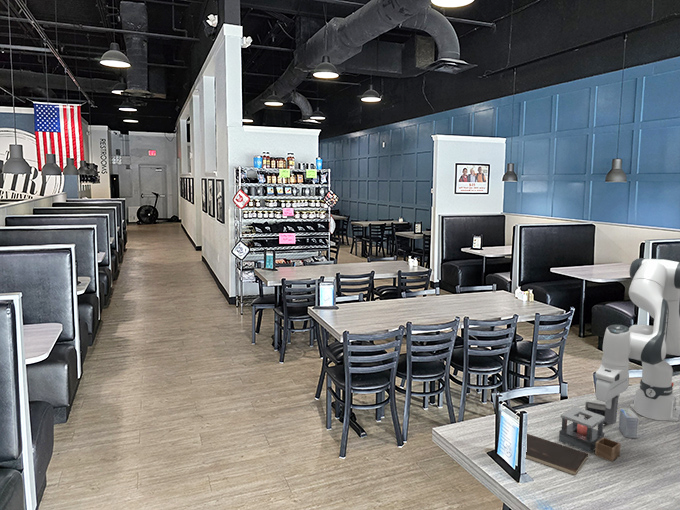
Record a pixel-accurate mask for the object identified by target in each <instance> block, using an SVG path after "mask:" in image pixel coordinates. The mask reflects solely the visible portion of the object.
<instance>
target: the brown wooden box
mask: <svg viewBox="0 0 680 510" xmlns="http://www.w3.org/2000/svg"><path fill="white" fill-rule="evenodd" d="M594 450H595V451H594V456H597V457H600V458H602V459H604V460H607V461H609V462H612V463H613V462H614V461H615V460H617V459H618V458H619V457H620V455H621V443H620V442H618V441H615V440H612V439H610V438H606V437H605V436H604V437H603V438H601V439H600V440H599V441H597V442H596V448H595V449H594Z"/></svg>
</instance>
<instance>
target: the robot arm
mask: <svg viewBox="0 0 680 510" xmlns="http://www.w3.org/2000/svg"><path fill="white" fill-rule="evenodd" d="M629 278H630V279H631V283H630V285H629V288H628V296H629V299H630V301H631V302H632V303H633V304H634V305H635V306H636V307H638V308H640V309H641V310H642V311H645V312H647V313H648V314H649V316H650V317H651V318H653V325H650V324H632V325H630V327H628V326H626V325H623V324H611V325H609V326H607V327H606V329H605V332H604V336H603V341H602V342H603V343H602V353H603V354H602V357H601V361H600V362H601V364H600V366H599V367H598V368H597V370H596V371H595V378H596V381H595V399H596V400H597V401H601V402H602V403H606V408H608V409H611V408H612V402H611V400H612V398H614V397H615V396H618V400H619V399H620V395H621V394H622V393H623V392H625V391H627V390H628V389H629V385H630V373H629V370H630V360H629V359H631V360H632V359H633V360H636V361H640V362H641V366H642V367H641V369H642V370H641V379H640V380H639V381H640V382H639V388H638V389H636V390H635V394H634V400H633V401H634V402H632V403H630V405H629V407H630V408H632V409H633V410H634V412H636V413H637V414H638V415H640V416H642V417H644V418H648V419H651V420H656V421H672V422H678V421H679V420H680V406H679V405H677V397H676V395H674V394H673V392H674V390H673V388H674V385H675V383H674V382H672V380H673V373H674V370H673V367H672V365H671V364H670V363H669V362H668V361H666V360H665V359H666V355H671V356H680V262H679V261H673V260H671V259H670V260H669V259H661V258H660V259H658V258H645V257H643V258H642V257H639V258H635V259H634V260H633V261H632V262H631V264H630V266H629Z"/></svg>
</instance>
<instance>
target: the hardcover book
mask: <svg viewBox="0 0 680 510" xmlns="http://www.w3.org/2000/svg"><path fill="white" fill-rule="evenodd" d="M587 458H589V452H586V451H583V450H580V449H579V450H578V449H575V448H573V447H570V446H566V445H563V444H561V443H558V442H554V441H552V440H549V439H548V440H547V439H545V438H542V437H540V436H539V437H538V436H537V435H536V436H535V435H533V434H530V433H527V452H526V459H528V460H531V461H534V462H537V463H539V464H543V465H545V466H547V467H551V468H553V469H556V470H560V471H562V472H564V473H568V474H571V475H573V476H576V475H577V473H578V471H579V470H581V469H580V468H581V467H582V466H583V465H584V463H585V462H586V460H587Z"/></svg>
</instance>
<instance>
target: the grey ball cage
mask: <svg viewBox="0 0 680 510" xmlns="http://www.w3.org/2000/svg"><path fill="white" fill-rule="evenodd" d="M580 415H581V416H583V417H584V416H586V417H589V419H588V420H586V419H585V418H582V417H580ZM560 418H561V419H562V420H561V429H560V430H559V431H558V432H559V433H558V441H559V442H562V443H564V444H567V445H570V446H571V447H575V448H577V449H579V450H581V451H583V452H586V453H588V454H589V453H592V452H593V451H594V450H595V448H596V442H597V441H599V440H600V439H601V438H603V437H604V438H605V432H604V425H603V423H604V418H605V416H602V415H599V414H596V413H593V412H590V411H587V410H585V408H582V407H578V406H576V405H574V406H573V407H572V408H570V409H569V410H567V411H565V412H563V413H561V414H560ZM568 421H569V422H571V423H569V424H568ZM577 424H580V425H583V426H586V427H587V436H584V435H581V434H578V433H577ZM595 427H597V429H595Z"/></svg>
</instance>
